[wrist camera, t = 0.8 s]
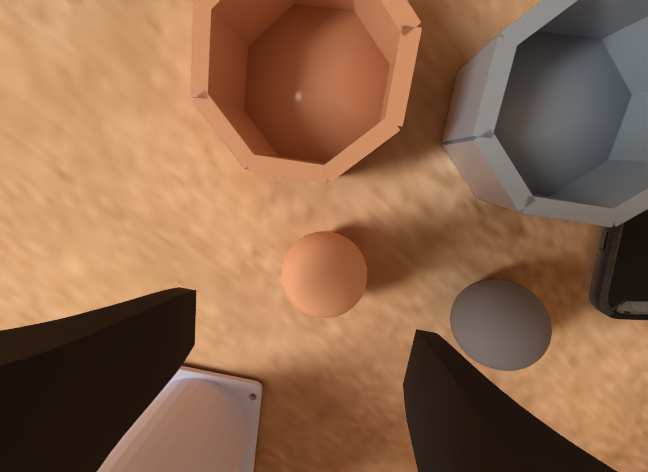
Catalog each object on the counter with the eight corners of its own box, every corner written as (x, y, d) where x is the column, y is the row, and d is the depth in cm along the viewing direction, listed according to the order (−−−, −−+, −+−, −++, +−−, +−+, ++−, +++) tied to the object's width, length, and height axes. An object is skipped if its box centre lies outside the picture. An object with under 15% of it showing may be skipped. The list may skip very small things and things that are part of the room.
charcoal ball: (508, 344, 18) (554, 400, 14) (433, 330, 18) (455, 381, 14) (532, 274, 17) (590, 313, 13) (451, 261, 17) (481, 294, 13)
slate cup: (594, 216, 16) (682, 238, 12) (430, 191, 16) (455, 203, 12) (663, 33, 14) (803, -25, 9) (471, 11, 14) (520, -52, 10)
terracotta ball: (359, 301, 18) (359, 343, 14) (287, 288, 19) (266, 326, 15) (372, 230, 17) (377, 253, 13) (296, 217, 18) (276, 236, 13)
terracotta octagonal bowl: (381, 184, 17) (389, 193, 12) (231, 161, 17) (188, 162, 13) (415, 5, 15) (439, -60, 10) (242, -15, 15) (195, -84, 11)
